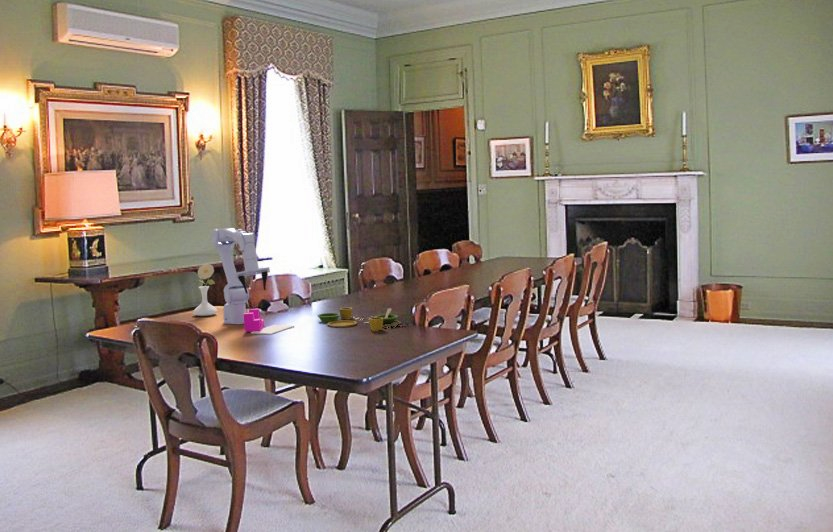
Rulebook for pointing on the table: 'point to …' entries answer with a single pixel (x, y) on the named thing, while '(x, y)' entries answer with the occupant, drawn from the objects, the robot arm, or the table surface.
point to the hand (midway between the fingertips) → (255, 291)
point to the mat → (272, 329)
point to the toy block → (253, 321)
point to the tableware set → (346, 313)
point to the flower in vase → (205, 292)
